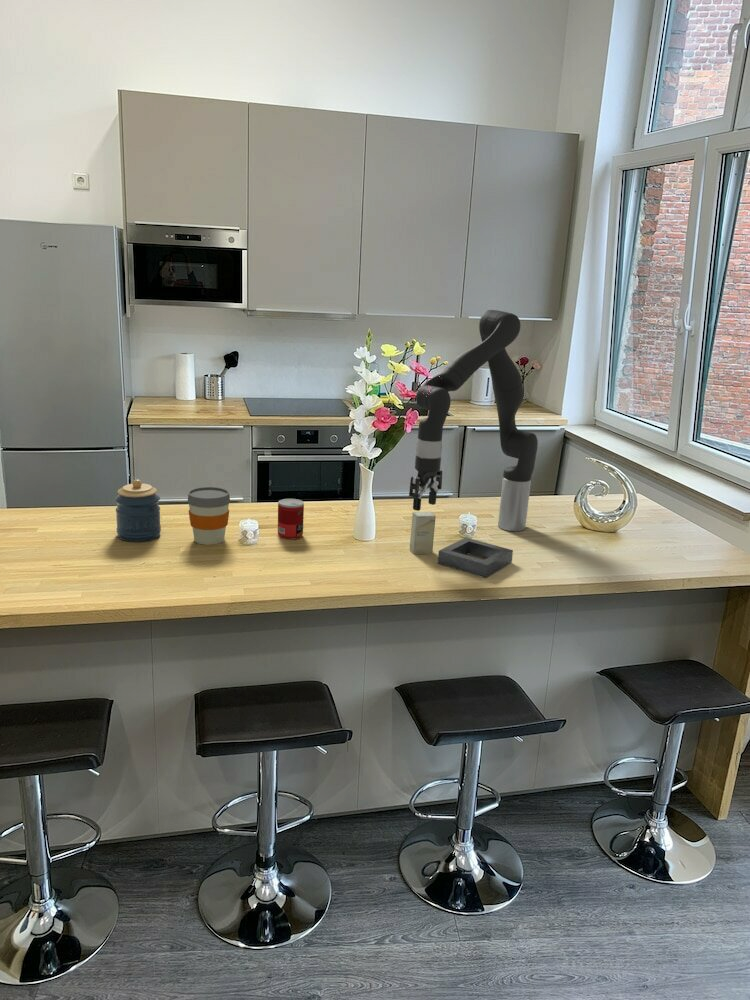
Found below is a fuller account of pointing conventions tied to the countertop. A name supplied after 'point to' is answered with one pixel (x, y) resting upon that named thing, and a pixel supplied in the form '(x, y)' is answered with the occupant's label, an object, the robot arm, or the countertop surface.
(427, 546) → the skincare box
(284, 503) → the canned food
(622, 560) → the countertop surface
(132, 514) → the canister
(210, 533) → the reusable coffee cup
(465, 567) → the dark grey square frame
